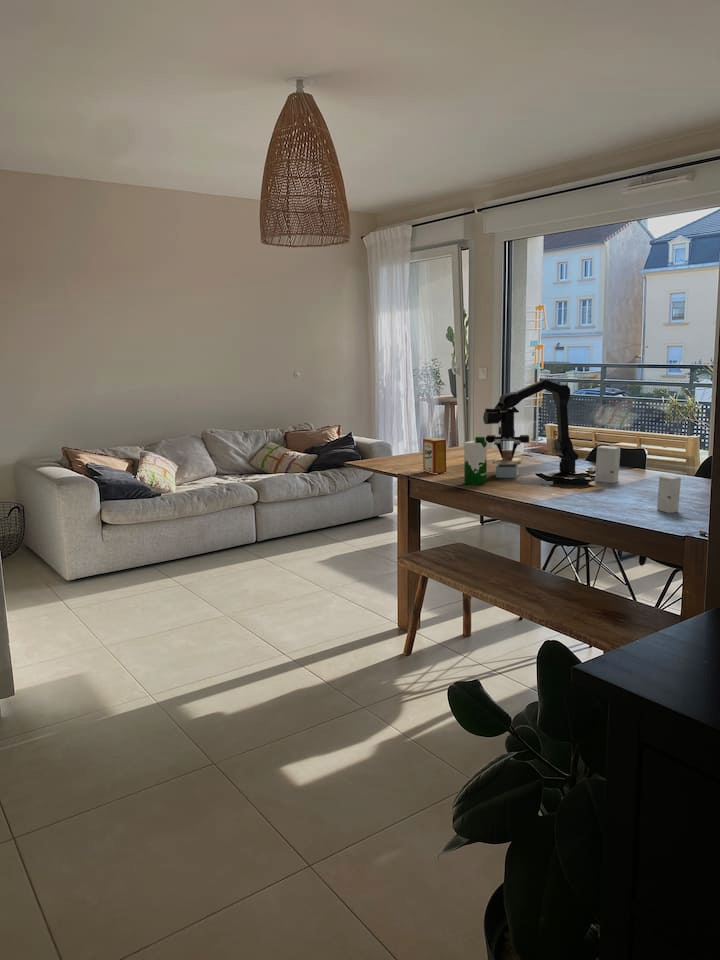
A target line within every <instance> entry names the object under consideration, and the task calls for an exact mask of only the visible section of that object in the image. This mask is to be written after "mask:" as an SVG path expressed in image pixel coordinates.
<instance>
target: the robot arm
mask: <svg viewBox="0 0 720 960" xmlns="http://www.w3.org/2000/svg"><path fill="white" fill-rule="evenodd" d="M544 390H545V391H547V392H549V393H551V394H552V398H553V401H554V403H555V406H556V407H555V408H556V420H557V421H556V422H557V423H556V424H557V439H556V440H553V450H554V451H555V453H556V454H557V455H558V458H559V459H560V461H559V472H571V473H570V474H576V461H578V459H579V454H578V453H577V452H576V451H574V446H573V441H572V440H571V438H570V433H569V432H570V430H569V414H568V404H569V401H570V398H571V387H570V386H568V385H566V384H558V383H555V382H553V381H551V380H549V379H545V378H544V379H543V378H542V379H540V380H539V381H537V382H535V383H533V384H530V385H529V386H526V387H524V388H522V389H519V390H517V391H512V392H508V393H503V394H501V395H500V397H499V400H498V402H497V404H496V405H495V407H494V408H484V413H483V416H482V418H483V420H482V421H483V424H485V425H496V424H499V423H500V426H499V427H498V435H499V436H496V434H487V435H486V437H485V441H488V443H493V445H495V446H496V447H497V449H498V451H499V453H500V458H502V452H503V442H513V443H512V458H514V455H515V452H516V449H517V447H518V446H519V445H521V444H522V443H523V444H525V443H526V444H528V443H529V444H530V435H529V434H520V435H519V436H515V435H516V434H515V433H516V431H515V413H519V412H520V411H519V410H518V409H517V408H516V406H517V405H518V404H519V403H521V402H522V401H523V400H524V399H527V398H529V397H531V396H534V395H535V394H538V393H540V392H542V391H544Z"/></svg>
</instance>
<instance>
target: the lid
mask: <svg viewBox="0 0 720 960" xmlns="http://www.w3.org/2000/svg"><path fill="white" fill-rule="evenodd" d="M502 450H503V449H502ZM512 450H513V449H512ZM512 450H510V449H509V450H507V449H505V450H503V452H502V457H494V458H493V460H492V465H498V464H518V465H521V463H522V462H523V457H513V458H512Z"/></svg>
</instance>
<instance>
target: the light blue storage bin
mask: <svg viewBox="0 0 720 960" xmlns="http://www.w3.org/2000/svg"><path fill="white" fill-rule="evenodd" d="M518 476H519V464H496V466H495V478H497V479H498V478H499V479H506V478H507V479H517V478H518Z"/></svg>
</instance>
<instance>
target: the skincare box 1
mask: <svg viewBox="0 0 720 960" xmlns="http://www.w3.org/2000/svg"><path fill="white" fill-rule="evenodd" d="M620 460H621V447H618V446H612V445H611V446H609V445H600V446H597V447H596V459H595V471H594V472H595V473H594V482H596V483H607V484H608V483H609V484H615V483H617V482H619V476H620V475H619V472H620V463H621V462H620Z"/></svg>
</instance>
